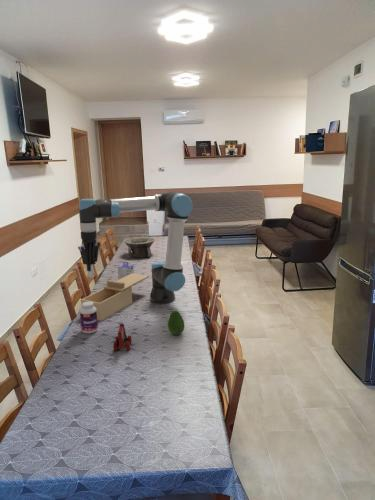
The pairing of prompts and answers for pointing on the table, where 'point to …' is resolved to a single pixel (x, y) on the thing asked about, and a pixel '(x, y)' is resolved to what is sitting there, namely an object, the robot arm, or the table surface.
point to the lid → (125, 282)
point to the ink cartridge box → (124, 270)
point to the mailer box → (109, 301)
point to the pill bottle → (88, 318)
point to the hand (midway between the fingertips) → (91, 276)
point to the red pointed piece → (122, 339)
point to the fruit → (175, 323)
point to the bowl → (139, 246)
